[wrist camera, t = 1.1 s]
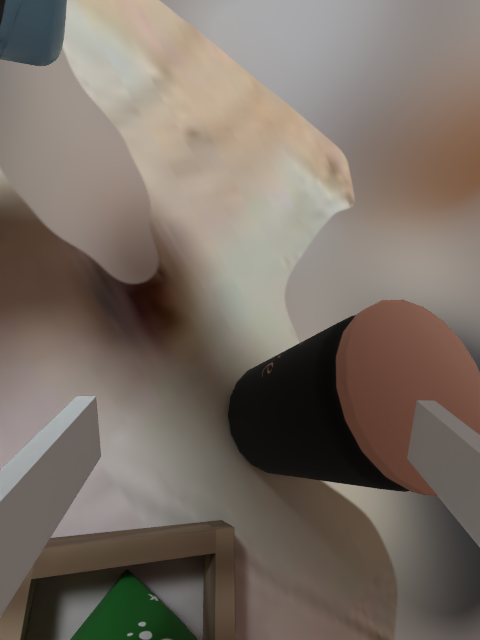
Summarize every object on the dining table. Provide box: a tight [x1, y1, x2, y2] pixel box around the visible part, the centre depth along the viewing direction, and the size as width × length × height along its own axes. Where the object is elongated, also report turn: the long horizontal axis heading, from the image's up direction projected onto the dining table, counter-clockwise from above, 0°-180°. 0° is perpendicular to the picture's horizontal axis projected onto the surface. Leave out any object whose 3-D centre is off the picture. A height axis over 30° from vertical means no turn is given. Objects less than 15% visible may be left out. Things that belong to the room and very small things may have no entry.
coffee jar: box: [228, 300, 480, 496], centre depth 25 cm, size 11×11×18 cm
